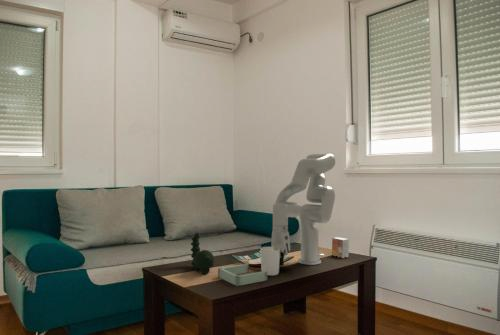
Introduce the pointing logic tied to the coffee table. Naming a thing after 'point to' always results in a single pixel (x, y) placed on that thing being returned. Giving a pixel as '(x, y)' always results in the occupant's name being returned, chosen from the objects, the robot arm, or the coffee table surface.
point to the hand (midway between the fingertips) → (280, 265)
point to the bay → (232, 277)
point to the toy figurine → (201, 256)
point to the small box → (340, 247)
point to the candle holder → (270, 260)
